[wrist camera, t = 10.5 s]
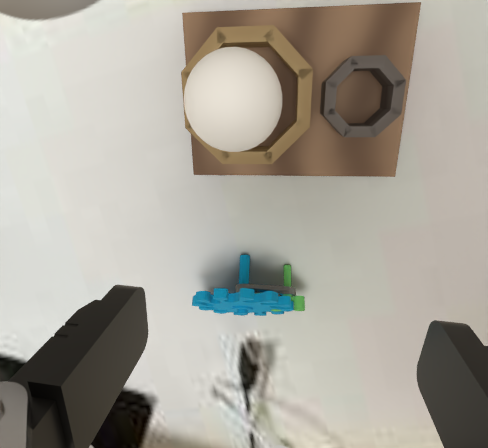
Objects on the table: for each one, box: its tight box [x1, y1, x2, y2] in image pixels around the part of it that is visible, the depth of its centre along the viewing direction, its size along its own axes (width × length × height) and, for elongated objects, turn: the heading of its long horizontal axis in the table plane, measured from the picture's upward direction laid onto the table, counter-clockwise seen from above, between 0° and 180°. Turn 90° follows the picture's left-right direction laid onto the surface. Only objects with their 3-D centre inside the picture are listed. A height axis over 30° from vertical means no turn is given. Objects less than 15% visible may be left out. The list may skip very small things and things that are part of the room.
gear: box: [192, 255, 305, 316], centre depth 34 cm, size 11×6×10 cm
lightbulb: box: [184, 47, 282, 152], centre depth 23 cm, size 6×6×11 cm
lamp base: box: [181, 2, 421, 177], centre depth 27 cm, size 18×13×4 cm
